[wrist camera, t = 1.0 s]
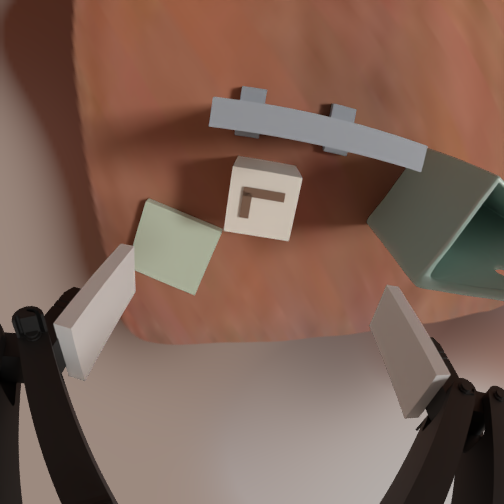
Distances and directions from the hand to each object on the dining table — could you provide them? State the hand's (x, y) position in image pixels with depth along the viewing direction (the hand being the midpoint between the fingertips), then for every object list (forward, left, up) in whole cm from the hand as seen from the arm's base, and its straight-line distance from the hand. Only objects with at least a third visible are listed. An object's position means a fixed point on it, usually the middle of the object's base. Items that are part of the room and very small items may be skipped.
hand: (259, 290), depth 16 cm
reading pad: (+10, -7, -19) cm, 23 cm away
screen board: (-8, 0, -19) cm, 21 cm away
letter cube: (0, 0, -19) cm, 19 cm away
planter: (-10, +16, -19) cm, 27 cm away
